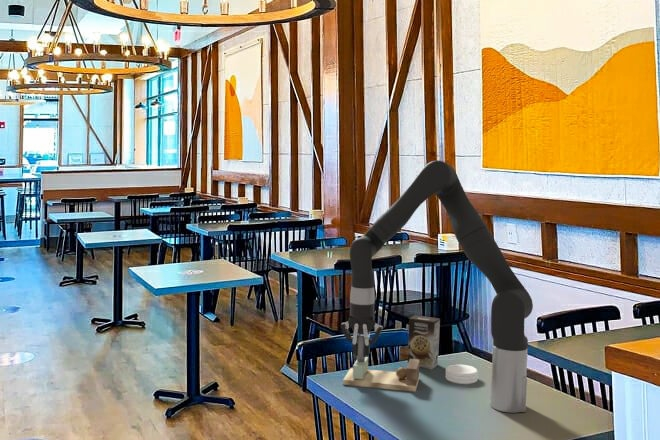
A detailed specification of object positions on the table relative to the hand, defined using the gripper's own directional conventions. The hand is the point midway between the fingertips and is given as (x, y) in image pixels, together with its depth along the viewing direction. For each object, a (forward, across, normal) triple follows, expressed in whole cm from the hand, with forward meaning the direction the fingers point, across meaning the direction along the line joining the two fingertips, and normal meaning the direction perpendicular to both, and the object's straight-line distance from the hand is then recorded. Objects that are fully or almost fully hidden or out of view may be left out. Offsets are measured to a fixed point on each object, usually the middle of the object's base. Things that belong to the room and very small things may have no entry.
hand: (360, 355), depth 193 cm
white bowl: (+8, -31, -10) cm, 33 cm away
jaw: (+6, 0, 0) cm, 6 cm away
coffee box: (+8, -18, -21) cm, 29 cm away
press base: (+8, -7, 0) cm, 10 cm away
